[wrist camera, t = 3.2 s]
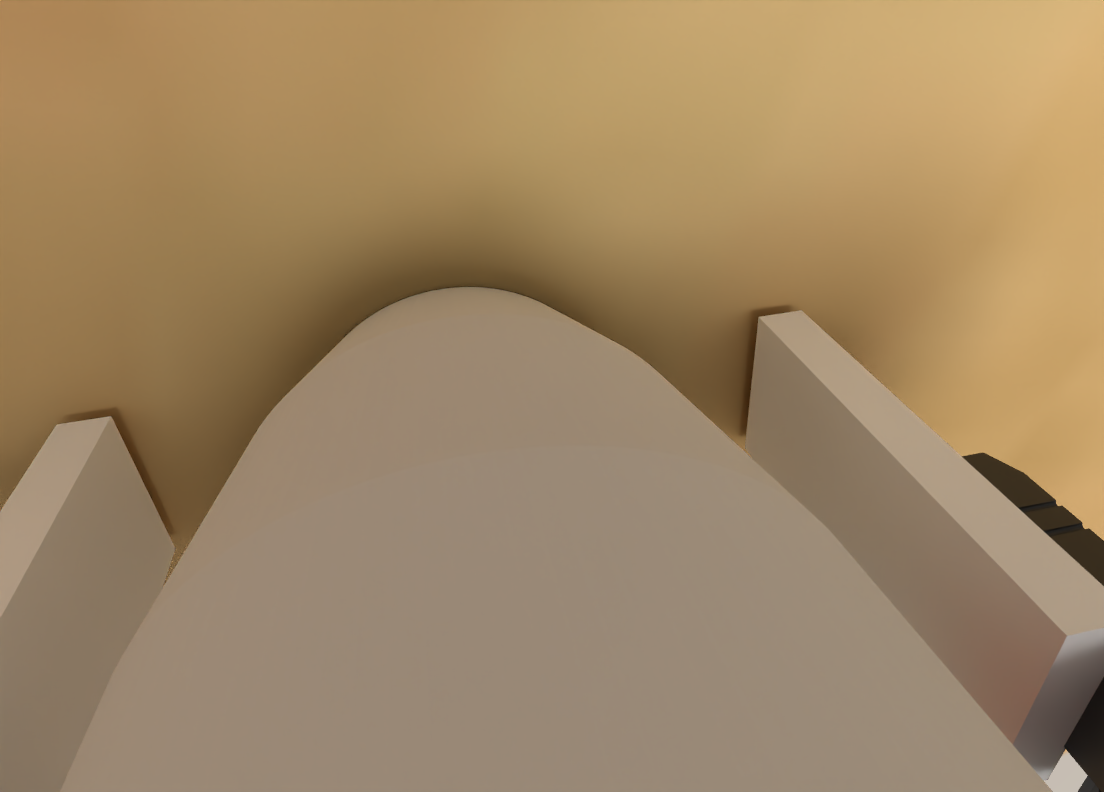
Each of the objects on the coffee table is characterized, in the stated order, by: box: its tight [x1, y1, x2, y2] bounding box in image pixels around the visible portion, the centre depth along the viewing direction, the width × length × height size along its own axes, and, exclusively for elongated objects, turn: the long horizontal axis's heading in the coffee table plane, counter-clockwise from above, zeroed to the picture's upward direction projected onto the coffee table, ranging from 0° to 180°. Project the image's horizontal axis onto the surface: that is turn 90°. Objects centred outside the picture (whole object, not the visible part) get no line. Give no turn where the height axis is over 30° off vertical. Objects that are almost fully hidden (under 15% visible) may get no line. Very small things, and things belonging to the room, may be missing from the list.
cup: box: [60, 287, 1052, 792], centre depth 8 cm, size 8×8×10 cm
